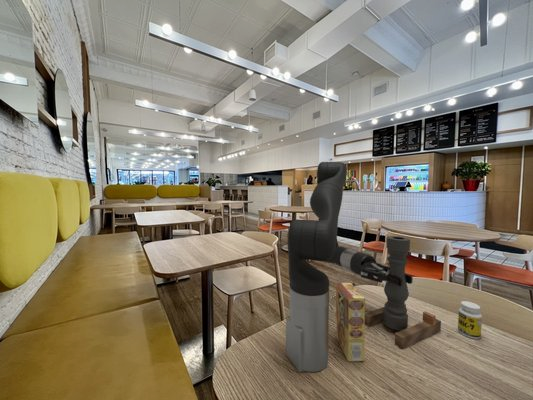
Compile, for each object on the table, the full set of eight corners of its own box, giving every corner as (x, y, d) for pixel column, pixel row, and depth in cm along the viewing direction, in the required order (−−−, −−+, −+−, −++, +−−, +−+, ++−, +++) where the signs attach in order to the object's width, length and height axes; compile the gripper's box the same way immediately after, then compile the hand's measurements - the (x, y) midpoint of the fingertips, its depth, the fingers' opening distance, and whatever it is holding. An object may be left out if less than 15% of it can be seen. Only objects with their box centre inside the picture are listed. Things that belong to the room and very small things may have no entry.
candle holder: (400, 317, 66) (404, 236, 65) (412, 330, 60) (416, 241, 59) (379, 316, 67) (382, 235, 66) (388, 329, 61) (391, 240, 59)
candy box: (365, 362, 51) (366, 298, 51) (347, 362, 51) (348, 298, 51) (350, 336, 60) (351, 282, 60) (334, 337, 60) (335, 282, 59)
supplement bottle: (454, 331, 63) (455, 302, 62) (463, 326, 65) (464, 298, 64) (475, 341, 58) (477, 310, 58) (484, 336, 60) (485, 306, 60)
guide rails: (403, 350, 55) (404, 329, 55) (362, 322, 67) (362, 305, 66) (441, 331, 62) (442, 312, 62) (398, 309, 74) (399, 293, 74)
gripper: (341, 254, 73) (390, 272, 57) (371, 249, 79) (423, 264, 63) (341, 276, 73) (389, 300, 58) (371, 269, 79) (422, 289, 64)
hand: (406, 281), depth 60 cm, fingers closed on candle holder, 3 cm apart
